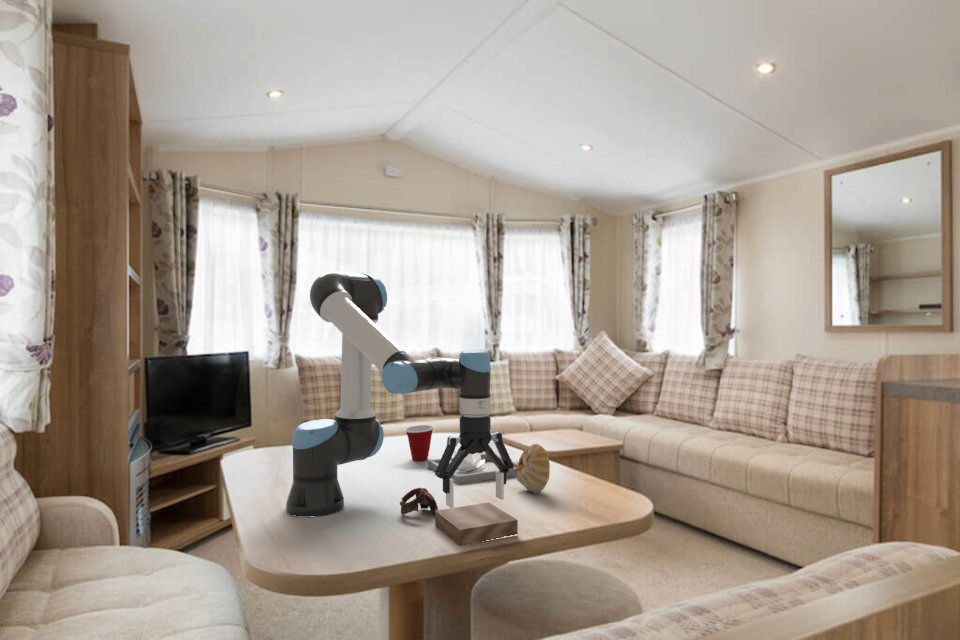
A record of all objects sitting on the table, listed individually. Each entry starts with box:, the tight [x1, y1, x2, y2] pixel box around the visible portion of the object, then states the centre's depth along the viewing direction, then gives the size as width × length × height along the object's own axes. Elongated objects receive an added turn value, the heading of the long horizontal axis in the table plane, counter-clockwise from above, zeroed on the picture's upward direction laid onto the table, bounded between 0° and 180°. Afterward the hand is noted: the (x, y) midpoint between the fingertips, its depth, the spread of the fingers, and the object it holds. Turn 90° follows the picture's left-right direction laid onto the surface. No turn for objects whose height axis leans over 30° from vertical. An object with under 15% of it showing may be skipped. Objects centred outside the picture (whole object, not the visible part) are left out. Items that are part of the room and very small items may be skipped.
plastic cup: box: [404, 424, 435, 462], centre depth 219 cm, size 11×11×12 cm
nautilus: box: [510, 443, 551, 494], centre depth 179 cm, size 8×22×15 cm, turn 24°
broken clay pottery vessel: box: [399, 487, 439, 515], centre depth 156 cm, size 12×9×8 cm
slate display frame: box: [427, 452, 519, 485], centre depth 202 cm, size 25×24×2 cm
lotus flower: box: [449, 450, 490, 475], centre depth 198 cm, size 14×15×9 cm
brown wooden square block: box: [434, 502, 519, 547], centre depth 143 cm, size 15×15×5 cm
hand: (475, 502), depth 143 cm, fingers open, 13 cm apart
